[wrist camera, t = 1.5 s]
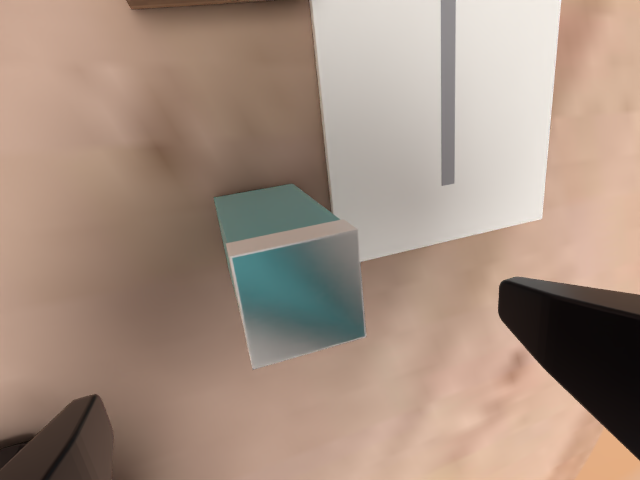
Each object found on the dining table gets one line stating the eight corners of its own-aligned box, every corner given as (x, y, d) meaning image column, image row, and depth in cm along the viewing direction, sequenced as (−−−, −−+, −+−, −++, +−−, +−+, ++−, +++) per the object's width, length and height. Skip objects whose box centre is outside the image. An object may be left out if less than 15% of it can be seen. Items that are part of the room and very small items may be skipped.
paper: (537, 217, 23) (542, 219, 22) (337, 264, 20) (339, 267, 20) (568, -144, 17) (575, -148, 17) (293, -153, 14) (295, -158, 14)
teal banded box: (296, 247, 19) (366, 337, 12) (225, 262, 18) (252, 369, 11) (286, 177, 18) (357, 229, 10) (210, 190, 17) (229, 256, 10)
